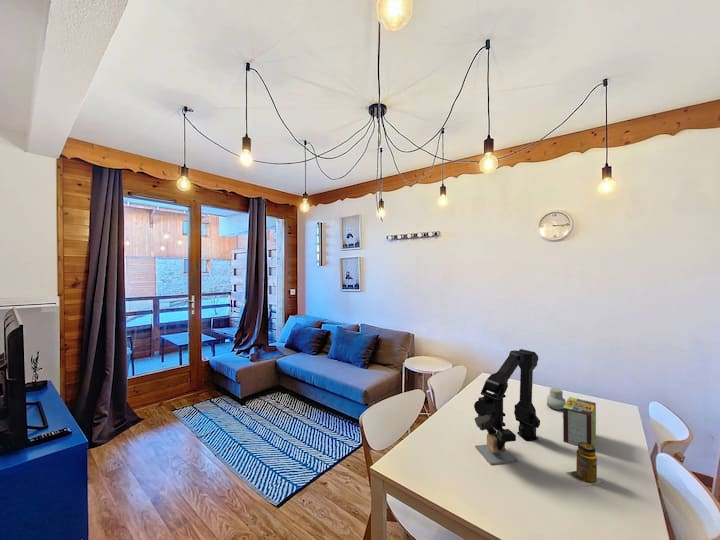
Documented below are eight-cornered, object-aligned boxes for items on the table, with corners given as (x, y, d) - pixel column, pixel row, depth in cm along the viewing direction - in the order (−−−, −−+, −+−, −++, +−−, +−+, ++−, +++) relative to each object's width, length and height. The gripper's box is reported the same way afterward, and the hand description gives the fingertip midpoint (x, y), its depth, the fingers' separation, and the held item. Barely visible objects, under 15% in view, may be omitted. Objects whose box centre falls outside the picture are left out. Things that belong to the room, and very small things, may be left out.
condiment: (603, 482, 110) (603, 449, 110) (584, 486, 108) (584, 453, 108) (584, 469, 117) (584, 438, 117) (566, 473, 115) (565, 441, 115)
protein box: (596, 436, 140) (596, 402, 140) (591, 451, 129) (591, 414, 129) (568, 428, 147) (568, 396, 147) (562, 441, 136) (562, 406, 136)
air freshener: (548, 402, 176) (548, 384, 175) (565, 406, 171) (565, 388, 171) (546, 409, 167) (546, 391, 167) (564, 413, 162) (564, 394, 162)
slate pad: (500, 444, 134) (500, 443, 134) (518, 461, 122) (518, 460, 122) (474, 446, 132) (474, 445, 132) (490, 464, 121) (490, 463, 121)
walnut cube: (497, 444, 130) (497, 433, 130) (504, 451, 125) (504, 439, 125) (486, 446, 129) (486, 434, 129) (493, 453, 125) (493, 440, 124)
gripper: (466, 400, 135) (466, 435, 135) (490, 421, 117) (490, 462, 117) (490, 399, 137) (490, 433, 137) (516, 419, 118) (516, 459, 118)
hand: (495, 446), depth 127 cm, fingers closed on walnut cube, 5 cm apart
